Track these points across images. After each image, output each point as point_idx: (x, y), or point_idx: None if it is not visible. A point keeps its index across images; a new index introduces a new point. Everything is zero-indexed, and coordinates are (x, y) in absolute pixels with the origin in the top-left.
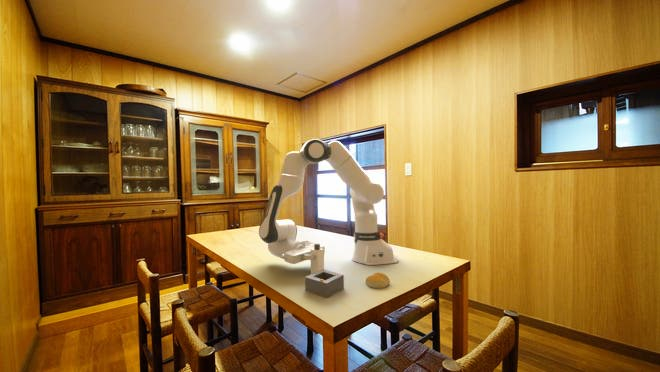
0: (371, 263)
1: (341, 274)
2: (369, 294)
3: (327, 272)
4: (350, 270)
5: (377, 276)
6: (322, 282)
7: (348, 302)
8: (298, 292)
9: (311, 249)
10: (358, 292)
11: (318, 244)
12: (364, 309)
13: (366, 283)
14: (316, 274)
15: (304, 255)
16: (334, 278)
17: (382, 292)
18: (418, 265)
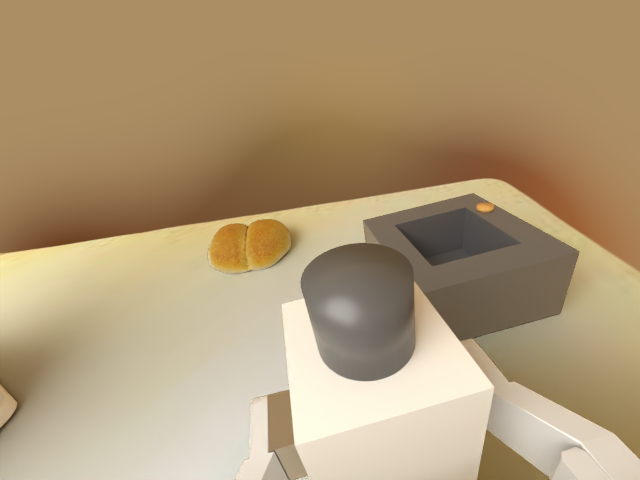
0: (5, 393)
1: (368, 224)
2: (333, 224)
3: (414, 254)
4: (152, 412)
5: (254, 223)
6: (486, 201)
7: None
8: (609, 314)
9: (472, 369)
10: (348, 237)
11: (339, 260)
12: (398, 193)
13: (279, 259)
14: (490, 255)
15: (631, 458)
16: (420, 209)
17: (297, 222)
18: (7, 295)
